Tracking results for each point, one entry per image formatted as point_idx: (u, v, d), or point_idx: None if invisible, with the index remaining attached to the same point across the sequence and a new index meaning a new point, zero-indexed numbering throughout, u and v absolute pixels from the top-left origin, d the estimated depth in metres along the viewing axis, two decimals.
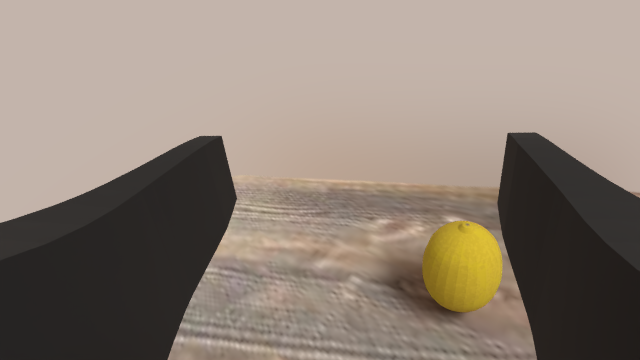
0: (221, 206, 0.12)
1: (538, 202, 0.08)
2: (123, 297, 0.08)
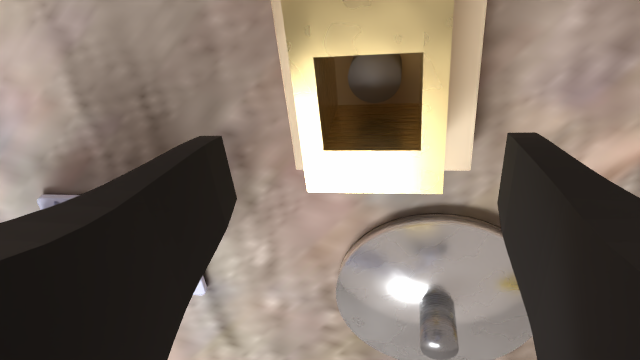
0: (221, 206, 0.12)
1: (538, 202, 0.08)
2: (123, 297, 0.08)
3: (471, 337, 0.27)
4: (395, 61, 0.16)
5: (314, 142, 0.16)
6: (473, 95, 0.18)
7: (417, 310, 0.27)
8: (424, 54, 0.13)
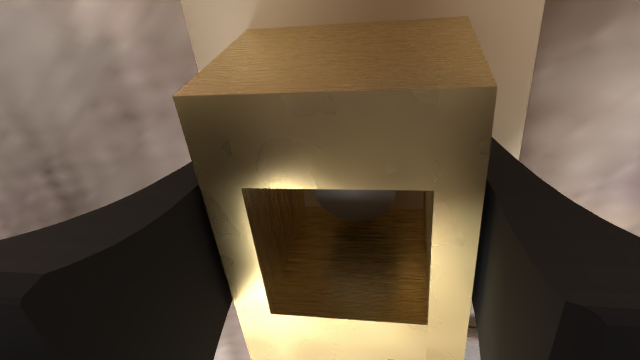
0: None
1: None
2: (175, 300, 0.08)
3: None
4: None
5: (255, 302, 0.10)
6: None
7: None
8: (435, 193, 0.07)
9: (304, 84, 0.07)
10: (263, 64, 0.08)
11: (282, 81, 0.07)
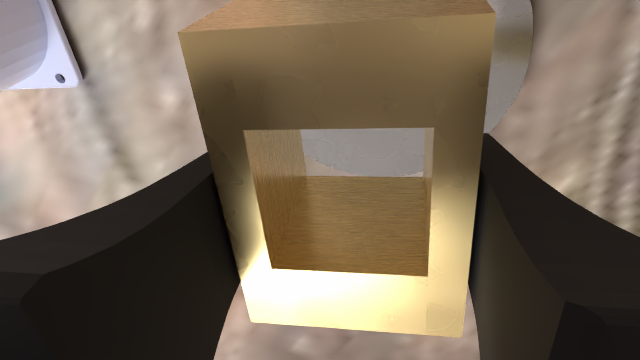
0: None
1: (479, 201, 0.08)
2: (175, 301, 0.08)
3: None
4: None
5: (256, 256, 0.10)
6: None
7: None
8: (435, 131, 0.08)
9: (307, 20, 0.07)
10: (266, 10, 0.08)
11: (286, 19, 0.07)
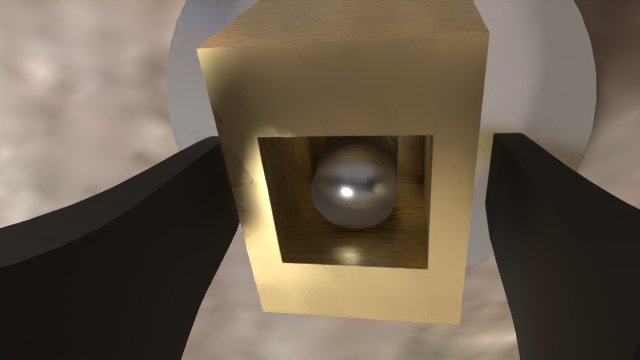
0: (232, 206, 0.12)
1: (520, 202, 0.08)
2: (139, 298, 0.08)
3: None
4: None
5: (268, 251, 0.11)
6: None
7: (322, 141, 0.13)
8: (434, 138, 0.08)
9: (316, 35, 0.08)
10: (277, 24, 0.09)
11: (296, 35, 0.08)
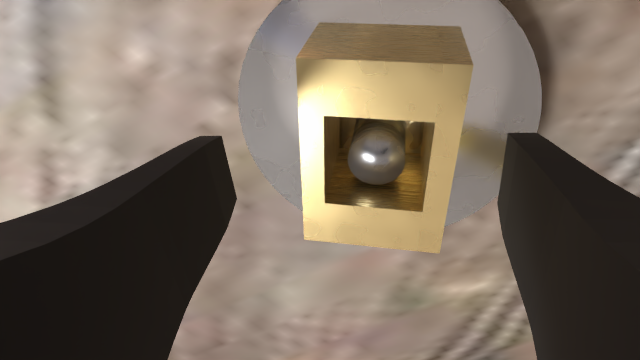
0: (221, 206, 0.12)
1: (538, 202, 0.08)
2: (123, 297, 0.08)
3: None
4: None
5: (316, 194, 0.16)
6: None
7: (350, 124, 0.18)
8: (435, 124, 0.13)
9: (370, 56, 0.13)
10: (341, 44, 0.14)
11: (357, 54, 0.13)
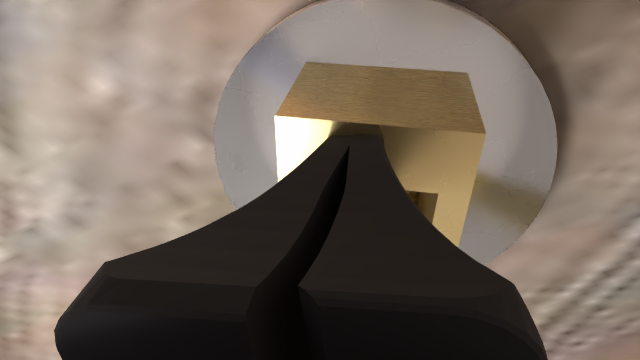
0: None
1: None
2: None
3: None
4: None
5: None
6: None
7: None
8: (439, 195, 0.11)
9: (363, 116, 0.11)
10: (329, 96, 0.12)
11: (347, 113, 0.11)
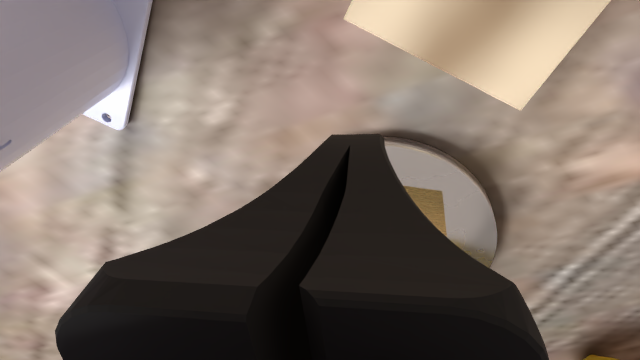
0: None
1: None
2: None
3: None
4: None
5: None
6: (582, 28, 0.16)
7: None
8: None
9: None
10: None
11: None
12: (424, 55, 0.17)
